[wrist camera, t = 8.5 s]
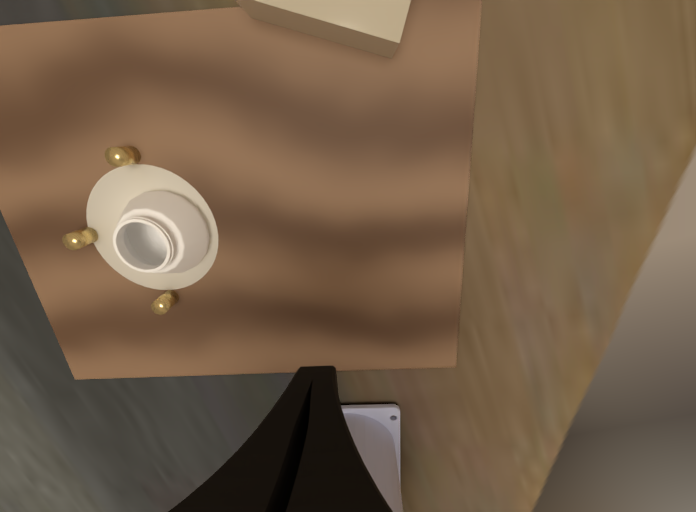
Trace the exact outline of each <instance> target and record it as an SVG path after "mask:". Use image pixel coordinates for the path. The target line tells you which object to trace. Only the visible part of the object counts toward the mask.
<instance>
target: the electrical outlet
mask: <svg viewBox="0 0 696 512" xmlns="http://www.w3.org/2000/svg"><path fill="white" fill-rule="evenodd" d="M235 1H236V2H237V3H238V4H239V5H240V6H241V7H242V8H243V9H244V11H245V12H246V13H247V14H248V15H249V16H250V17H251V18H253V19H256V20H260V21H263V22H267V23H270V24H274V25H277V26H281V27H284V28H287V29H291V30H294V31H298V32H301V33H305V34H308V35H312V36H315V37H318V38H322V39H325V40H329V41H332V42H336V43H339V44H343V45H346V46H349V47H353V48H356V49H360V50H363V51H367V52H370V53H374V54H377V55H380V56H384V57H387V58H391V59H392V57H393V55H394V53H395V51H396V49H397V47H398V45H399V43H400V40H401V36H402V32H403V28H404V25H405V21H406V17H407V13H408V10H409V6H410V2H411V0H235Z"/></svg>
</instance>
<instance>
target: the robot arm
mask: <svg viewBox="0 0 696 512" xmlns="http://www.w3.org/2000/svg"><path fill="white" fill-rule="evenodd" d="M393 415H395V416H393ZM169 512H403V506H402V498H401V490H400V408H399V406H398V405H396V404H374V405H341V404H340V400H339V397H338V387H337V376H336V368H335V367H334V366H333V365H330V366H303V367H300V368H299V369H298V370H297V372H296V374H295V375H294V377H293V379H292V380H291V382H290V383H289V385H288V387H287V388H286V390H285V391H284V393H283V394H282V396H281V397H280V398H279V400H278V401H277V403H276V404H275V406H274V407H273V408H272V410H271V411H270V412H269V414H268V415H267V416H266V418H265V419H264V420H263V421H262V423H261V424H260V425H259V426H258V428H257V429H256V430H255V431H254V433H253V434H252V435H251V436H250V437H249V438H248V440H247V441H246V442H245V443H244V444H243V445H242V446H241V447H240V448H239V449H238V451H237V452H236V453H235V454H234V455H233V456H232V457H231V458H230V459H229V460H228V461H227V462H226V463H225V464H224V465H223V466H222V467H221V468H220V469H219V470H217V471H216V472H215V473H214V474H213V475H212V476H211V477H210V478H209V479H208V480H207V481H205V482H204V483H203V484H202V485H201V486H200V487H198V488H197V489H196V490H195V491H194V492H193V493H191V494H190V495H189V496H188V497H187V498H185V499H184V500H183V501H182V502H180V503H179V504H178V505H177V506H175V507H174V508H173V509H171V510H170V511H169Z"/></svg>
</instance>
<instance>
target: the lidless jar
mask: <svg viewBox="0 0 696 512" xmlns="http://www.w3.org/2000/svg"><path fill="white" fill-rule="evenodd" d="M209 239H210V238H209V233H208V229H207V224H206V222H205V220H204V219H203V217H202V215H201V214H200V212H199V211H198V209H197V208H196V207H195V206H194V205H192V204H191V203H190V202H188V201H187V200H186V199H185V198H183V197H182V196H180V195H176V194H173V193H170V192H167V191H148V192H144V193H142V194H140V195H139V196H137V197H135V198H133V199H131V200H130V201H129V203H128V204H127V206H126V207H125V209H124V210H123V212H122V214H121V216H120V218H119V221H118V223H117V227H116V228H115V230H114V233H113V246H114V249H115V251H116V253H117V255H118V257H119V258H120V259H121V260H122V261H123V262H124V263H125V264H126V265H127V266H129V267H130V268H132V269H134V270H137V271H140V272H146V273H150V272H151V273H162V274H170V273H183V272H185V271H187V270H189V269H191V268H193V267H195V266H197V265H198V264H199V262H200V261H201V260H202V259H203V257H204V256H205V255H206V253H207V249H208V244H209Z"/></svg>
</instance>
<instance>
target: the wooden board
mask: <svg viewBox="0 0 696 512" xmlns="http://www.w3.org/2000/svg"><path fill="white" fill-rule="evenodd" d="M481 8H482V0H411V2H410V6H409V10H408V13H407V17H406V21H405V25H404V28H403V32H402V36H401V40H400V43H399V45H398V47H397V49H396V51H395V53H394V55H393V57H392V59H391V58H387V57H384V56H380V55H377V54H374V53H370V52H367V51H363V50H360V49H356V48H353V47H349V46H346V45H343V44H339V43H336V42H332V41H329V40H325V39H322V38H318V37H315V36H312V35H308V34H305V33H301V32H298V31H294V30H291V29H287V28H284V27H281V26H277V25H274V24H270V23H267V22H263V21H260V20H256V19H253V18H251V17H250V16H249V15H248V14H247V13H246V12H245V11H244V9H243V8H242V7H231V8H219V9H206V10H194V11H181V12H168V13H156V14H143V15H130V16H118V17H105V18H93V19H80V20H67V21H55V22H42V23H29V24H17V25H4V26H0V210H1V212H2V215H3V217H4V219H5V221H6V224H7V226H8V228H9V230H10V233H11V235H12V237H13V240H14V242H15V244H16V246H17V249H18V251H19V253H20V255H21V258H22V260H23V262H24V265H25V267H26V269H27V271H28V274H29V276H30V278H31V280H32V283H33V285H34V287H35V289H36V292H37V294H38V296H39V299H40V301H41V303H42V305H43V308H44V310H45V312H46V314H47V317H48V319H49V321H50V324H51V326H52V328H53V330H54V333H55V335H56V337H57V339H58V342H59V344H60V346H61V349H62V351H63V353H64V355H65V358H66V360H67V362H68V364H69V367H70V369H71V371H72V374H73V376H74V378H75V379H103V378H134V377H165V376H196V375H227V374H258V373H289V372H297V370H298V369H299V368H300V367H303V366H330V365H333V366H334V367H335V368H336V371H351V370H382V369H413V368H444V367H456V359H457V345H458V331H459V317H460V303H461V289H462V275H463V261H464V247H465V233H466V219H467V205H468V190H469V176H470V162H471V148H472V134H473V120H474V106H475V92H476V78H477V64H478V50H479V36H480V22H481ZM148 191H167V192H170V193H173V194H176V195H180V196H182V197H183V198H185V199H186V200H187V201H188V202H190V203H191V204H192V205H194V206H195V207H196V208H197V209H198V211H199V212H200V214H201V215H202V217H203V219H204V220H205V222H206V224H207V229H208V233H209V238H210V239H209V244H208V249H207V253H206V255H205V256H204V257H203V259H202V260H201V261H200V262H199V264H198V265H197V266H195V267H193V268H191V269H189V270H187V271H185V272H183V273H170V274H162V273H151V272H150V273H146V272H140V271H137V270H134V269H132V268H130V267H129V266H127V265H126V264H125V263H124V262H123V261H122V260H121V259H120V258H119V257H118V255H117V253H116V251H115V249H114V246H113V233H114V230H115V228H116V227H117V223H118V221H119V218H120V216H121V214H122V212H123V210H124V209H125V207H126V206H127V204H128V203H129V201H130V200H131V199H133V198H135V197H137V196H139V195H140V194H142V193H144V192H148Z"/></svg>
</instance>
